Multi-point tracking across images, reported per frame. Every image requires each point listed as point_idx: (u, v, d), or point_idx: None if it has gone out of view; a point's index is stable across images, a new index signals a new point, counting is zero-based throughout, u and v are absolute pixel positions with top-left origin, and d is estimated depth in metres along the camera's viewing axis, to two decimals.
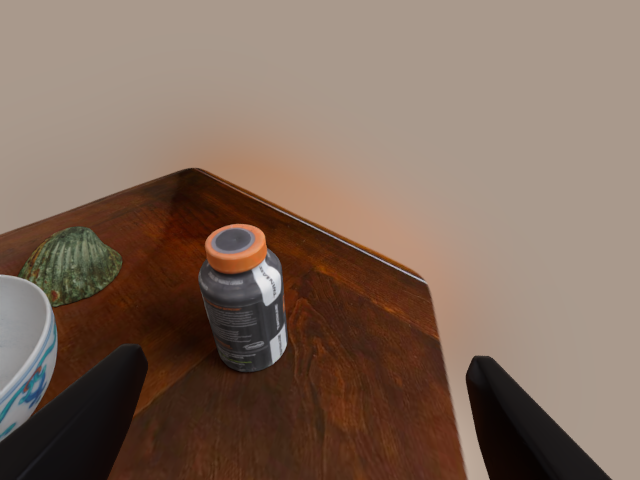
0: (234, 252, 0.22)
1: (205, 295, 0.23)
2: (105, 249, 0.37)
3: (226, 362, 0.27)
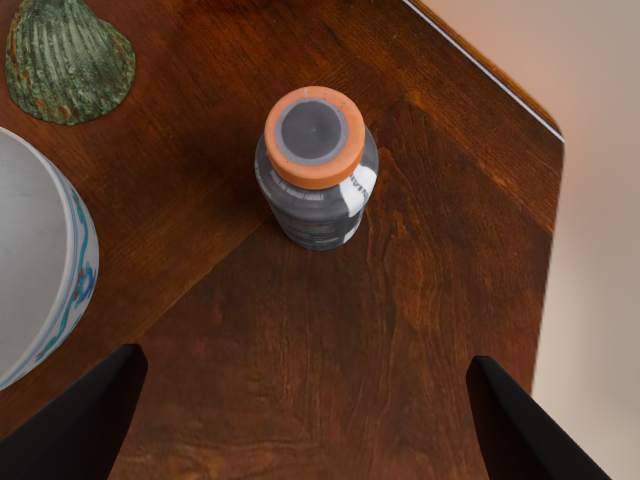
0: (315, 162, 0.13)
1: (267, 199, 0.16)
2: (105, 34, 0.25)
3: (289, 237, 0.23)
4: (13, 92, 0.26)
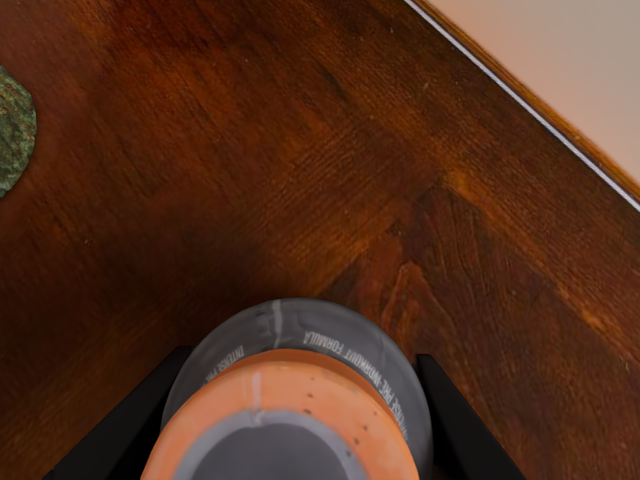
0: None
1: None
2: None
3: None
4: None
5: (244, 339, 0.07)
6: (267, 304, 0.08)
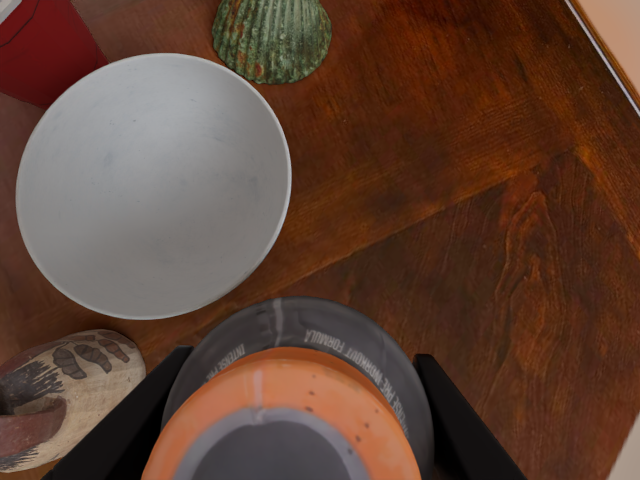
0: None
1: None
2: (317, 10, 0.27)
3: None
4: (217, 38, 0.27)
5: (244, 337, 0.07)
6: (268, 302, 0.08)
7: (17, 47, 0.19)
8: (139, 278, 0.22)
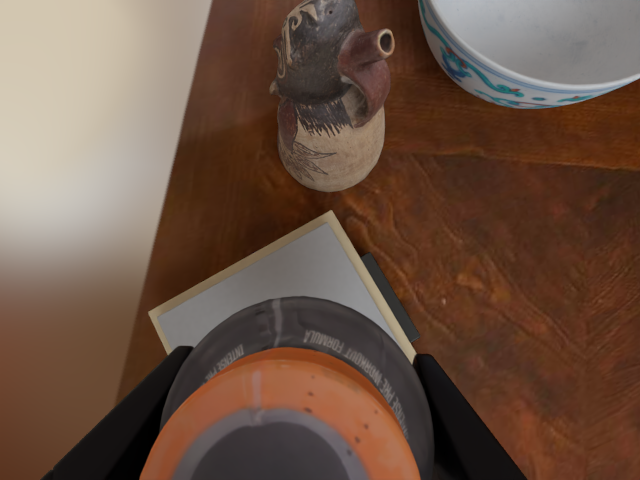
0: None
1: None
2: None
3: None
4: None
5: (244, 337, 0.07)
6: (267, 303, 0.08)
7: None
8: None
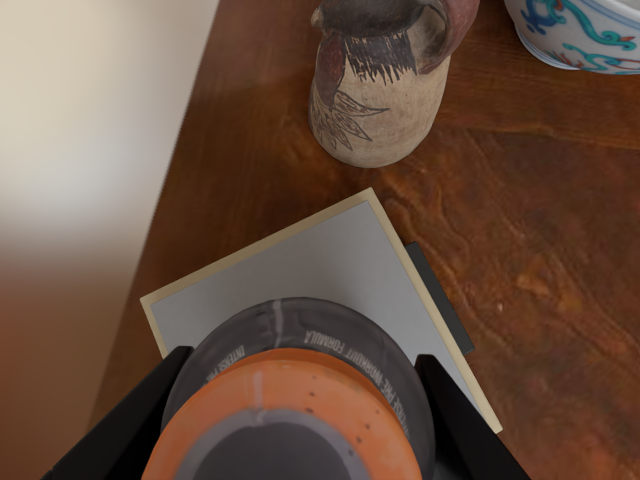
0: None
1: None
2: None
3: None
4: None
5: (244, 338, 0.07)
6: (268, 304, 0.08)
7: None
8: None
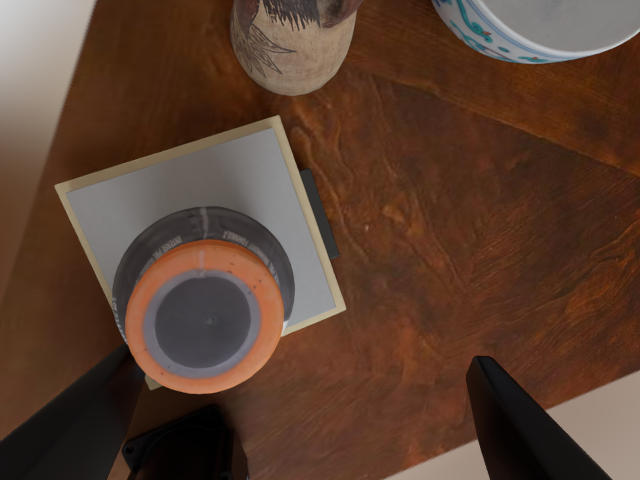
0: (206, 371, 0.09)
1: None
2: None
3: None
4: None
5: (180, 231, 0.10)
6: (196, 210, 0.11)
7: None
8: None
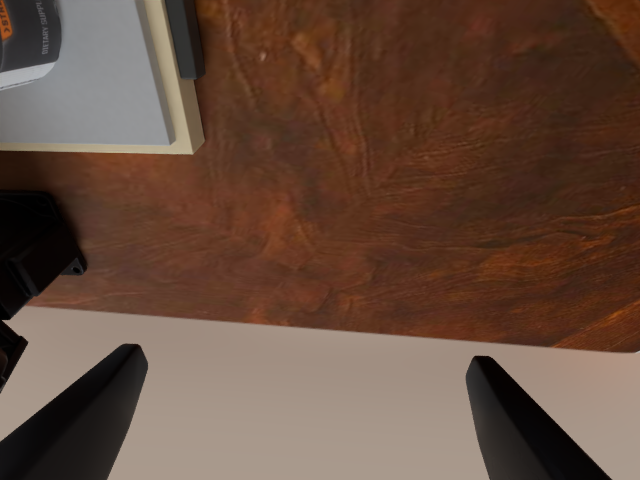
0: None
1: None
2: None
3: None
4: None
5: None
6: None
7: None
8: None
